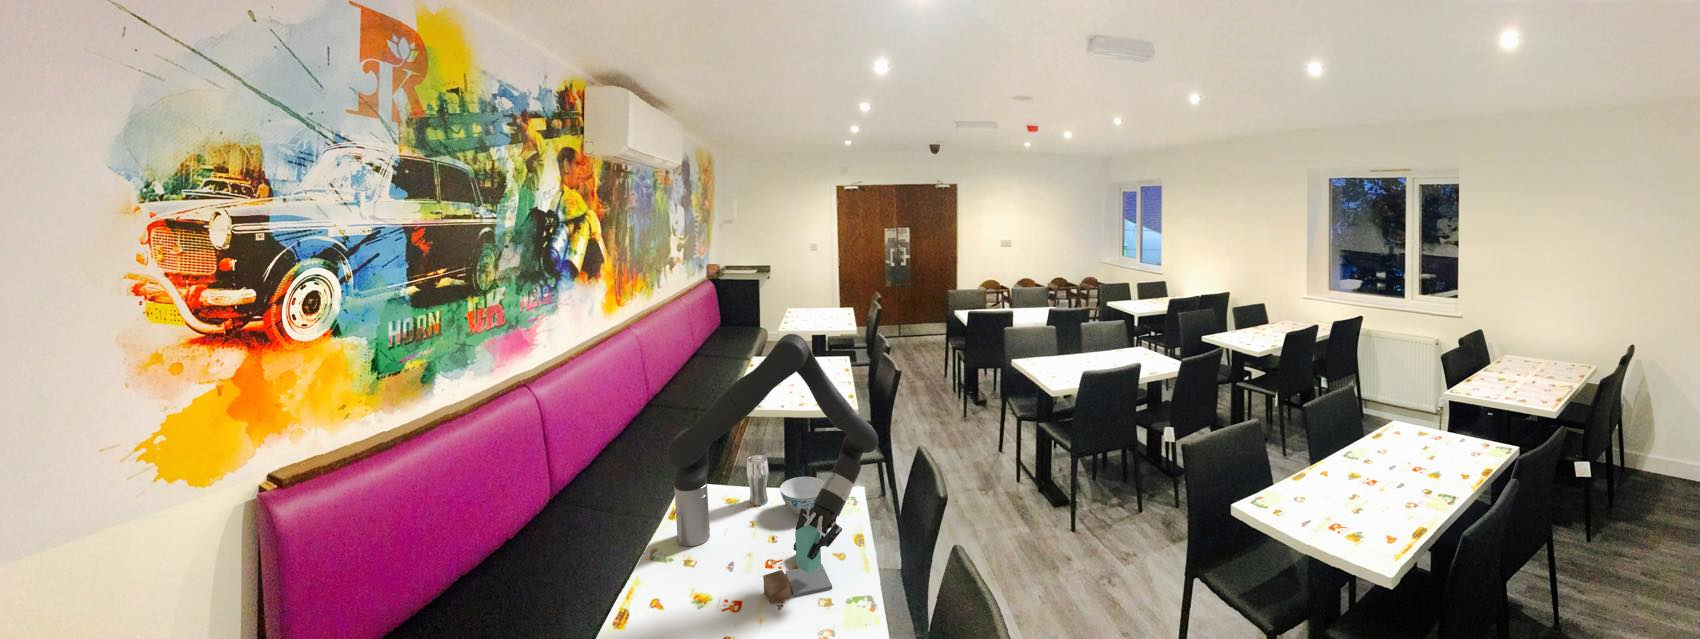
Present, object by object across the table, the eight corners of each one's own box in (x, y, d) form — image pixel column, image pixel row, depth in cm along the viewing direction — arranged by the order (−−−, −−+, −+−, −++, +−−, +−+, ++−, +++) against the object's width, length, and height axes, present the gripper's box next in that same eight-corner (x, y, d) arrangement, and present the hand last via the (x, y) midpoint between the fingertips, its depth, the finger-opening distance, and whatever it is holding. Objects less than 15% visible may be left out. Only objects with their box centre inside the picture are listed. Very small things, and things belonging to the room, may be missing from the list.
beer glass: (765, 507, 193) (763, 464, 190) (745, 505, 194) (743, 462, 192) (772, 497, 200) (770, 455, 197) (752, 495, 201) (750, 454, 198)
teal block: (808, 573, 151) (807, 537, 149) (796, 566, 154) (795, 530, 152) (821, 565, 154) (820, 529, 152) (808, 558, 157) (807, 523, 155)
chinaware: (825, 521, 184) (825, 498, 183) (777, 521, 184) (777, 498, 183) (828, 497, 199) (827, 476, 197) (783, 498, 199) (783, 476, 198)
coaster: (794, 596, 148) (794, 593, 148) (785, 573, 158) (785, 571, 158) (832, 588, 152) (832, 585, 151) (821, 566, 161) (821, 563, 161)
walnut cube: (770, 604, 146) (770, 586, 145) (764, 593, 150) (763, 575, 149) (789, 598, 148) (789, 580, 147) (782, 587, 152) (781, 569, 151)
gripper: (808, 480, 160) (776, 539, 154) (847, 496, 151) (814, 560, 145) (822, 491, 165) (791, 549, 159) (860, 507, 156) (830, 570, 149)
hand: (803, 554), depth 152 cm, fingers closed on teal block, 4 cm apart
